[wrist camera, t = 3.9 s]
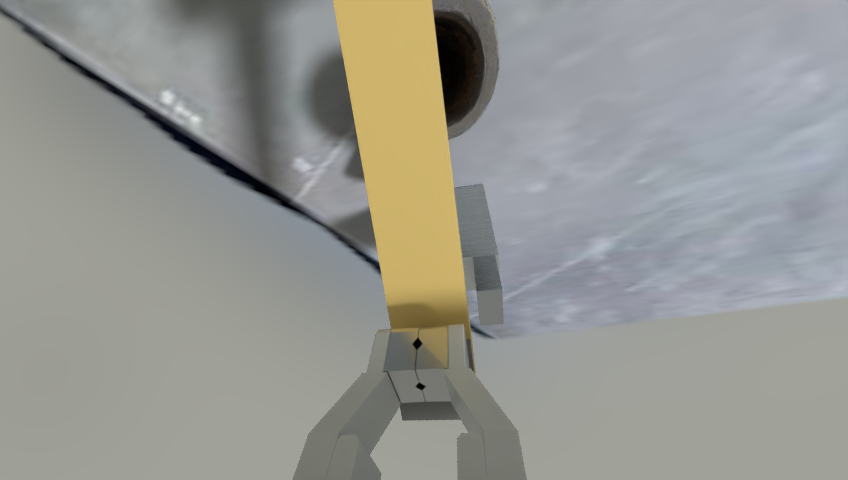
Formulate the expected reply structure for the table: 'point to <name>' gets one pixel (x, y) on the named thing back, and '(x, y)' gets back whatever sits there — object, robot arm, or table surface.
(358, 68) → the yellow bar
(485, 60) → the pipe
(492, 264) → the stop block
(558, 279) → the table surface
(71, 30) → the table surface
